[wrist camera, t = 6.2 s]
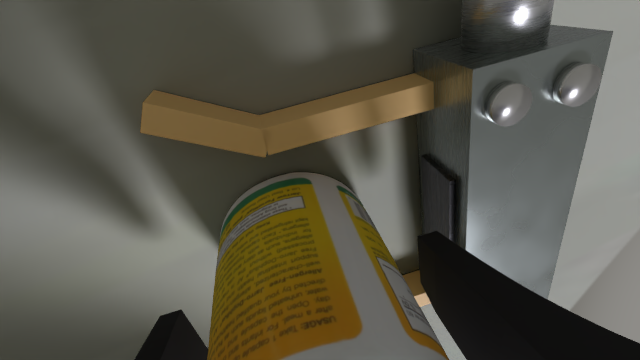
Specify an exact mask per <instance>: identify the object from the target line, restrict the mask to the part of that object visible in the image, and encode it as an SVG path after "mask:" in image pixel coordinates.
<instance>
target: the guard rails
mask: <svg viewBox="0 0 640 360" xmlns="http://www.w3.org/2000/svg"><path fill="white" fill-rule="evenodd" d="M432 109H434V84H433V82H432V81H430V80H428V79H426V78H424V77H422V76H419V75H417V74H415V73H413V74H409V75H406V76H402V77H398V78H394V79H391V80H387V81H383V82H380V83H376V84H372V85H369V86H365V87H361V88H358V89H354V90H350V91H347V92H343V93H339V94H335V95H332V96H328V97H324V98H321V99H317V100H313V101H310V102H306V103H302V104H299V105H295V106H291V107H288V108H284V109H280V110H276V111H273V112H269V113H265V114H262V115H256V114H252V113H248V112H244V111H239V110H235V109H231V108H227V107H223V106H219V105H215V104H210V103H206V102H202V101H198V100H194V99H190V98H185V97H181V96H177V95H173V94H169V93H165V92H160V91H156V90H153V92H152V93H151V94H150V95H149V96H148V97H147V98H146V99H145V101H144V102H143V106H142V118H141V129H140V133H144V134H149V135H154V136H159V137H164V138H169V139H174V140H179V141H184V142H189V143H194V144H199V145H204V146H209V147H214V148H219V149H224V150H229V151H234V152H239V153H244V154H249V155H254V156H259V157H264V158H265V157H266V153H267V151H268V154H269V155H272V154H275V153H279V152H282V151H286V150H289V149H293V148H296V147H300V146H304V145H307V144H311V143H314V142H318V141H321V140H325V139H329V138H332V137H336V136H339V135H343V134H346V133H350V132H353V131H357V130H361V129H364V128H368V127H371V126H375V125H378V124H382V123H386V122H389V121H393V120H396V119H400V118H403V117H407V116H410V115H414V114H418V113H421V112H425V111H428V110H432ZM402 276H403V278H404V280H405V281H406V283H407V285H408V287H409V288H410V290H411V292H412V294H413V296H414V298H415V299H416V301H417V303H418V305H419V307H421V306H424V305H427V304H430V303H431V302H430V300H429V298H428V296H427V294H426V292H425V290H424V288H423V286H422V284H421V282H420V270H418V271H415V272H411V273H408V274H405V275H402Z"/></svg>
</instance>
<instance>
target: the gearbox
mask: <svg viewBox="0 0 640 360" xmlns="http://www.w3.org/2000/svg"><path fill="white" fill-rule="evenodd" d="M553 4H554V0H462V32H461V37H460V38H456V39H452V40H448V41H445V42H441V43H437V44H433V45H430V46H426V47H422V48H418V49H414V50H413V57H414V73H415V74H417V75H419V76H422V77H424V78H426V79H428V80H430V81H432V82H433V84H434V109H432V110H428V111H425V112H421V113H418V114H417V133H418V152H419V171H420V190H421V209H422V228H423V235H424V234H427V233H430V232H434V231H438V232H440V233H441V234H443V235H444V236H446V237H447V238H449V239H450V240H452V241H453V242H455V243H456V244H457V245H459V246H460V247H462V248H463V249H465V250H466V251H468V252H469V253H471V254H472V255H474V256H476V257H477V258H479V259H480V260H482V261H483V262H485V263H486V264H488V265H489V266H491V267H493V268H494V269H496V270H498V271H499V272H501V273H502V274H504V275H506V276H507V277H509V278H511V279H512V280H514V281H516V282H517V283H519V284H521V285H522V286H524V287H526V288H528V289H529V290H531V291H533V292H535V293H537V294H538V295H540V296H542V297H544V298H546V299H548V295H549V291H550V287H551V283H552V279H553V275H554V271H555V267H556V263H557V258H558V254H559V250H560V246H561V242H562V238H563V234H564V230H565V226H566V222H567V218H568V214H569V209H570V205H571V201H572V197H573V193H574V189H575V185H576V181H577V177H578V173H579V169H580V164H581V160H582V156H583V152H584V148H585V144H586V140H587V136H588V132H589V128H590V124H591V120H592V115H593V111H594V107H595V103H596V99H597V95H598V91H599V87H600V83H601V79H602V75H603V70H604V66H605V62H606V58H607V54H608V50H609V46H610V42H611V38H612V34H613V31H606V30H596V29H586V28H577V27H567V26H557V25H550V24H551V17H552V10H553Z"/></svg>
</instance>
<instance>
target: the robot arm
mask: <svg viewBox="0 0 640 360" xmlns="http://www.w3.org/2000/svg"><path fill="white" fill-rule="evenodd" d="M418 252H419V267H420V282H421V284H422V286H423V288H424V290H425V292H426V294H427V296H428V298H429V300H430V302H431V304H432V306H433V308H434V310H435V312H436V313H437V315H438V317H439V318H440V320H441V321H442V323H443V324H444V326H445V327H446V329H447V330H448V332H449V333H450V335H451V336H452V338H453V339H454V341H455V343H456V344H457V346H458V347H459V349H460V350H461V352H462V353H463V355H464V356H465V358H466V359H467V360H640V344H639V343H637V342H635V341H633V340H630V339H628V338H626V337H623V336H621V335H618V334H616V333H614V332H612V331H610V330H607V329H605V328H603V327H601V326H599V325H596V324H595V323H593V322H591V321H588V320H586V319H584V318H582V317H580V316H578V315H576V314H574V313H572V312H570V311H568V310H566V309H564V308H562V307H561V306H559V305H557V304H555V303H553V302H551V301H549V300H547V299H546V298H544V297H542V296H540V295H538V294H537V293H535V292H533V291H531V290H529V289H528V288H526V287H524V286H522V285H521V284H519V283H517V282H516V281H514V280H512V279H511V278H509V277H507V276H506V275H504V274H502V273H501V272H499V271H498V270H496V269H494V268H493V267H491V266H489V265H488V264H486V263H485V262H483V261H482V260H480V259H479V258H477V257H476V256H474V255H472V254H471V253H469V252H468V251H466V250H465V249H463V248H462V247H460V246H459V245H457V244H456V243H455V242H453V241H452V240H450V239H449V238H447V237H446V236H444V235H443V234H441V233H440V232H438V231H434V232H430V233H427V234H424V235H421V236H418ZM207 357H208V349H207V347H206V346H205V344H204V343H203V341H202V340H201V338H200V337H199V335H198V334H197V332H196V331H195V329H194V328H193V326H192V325H191V323H190V322H189V320H188V319H187V317H186V316H185V314H184V313H183V311H182V310H178V311H175V312H172V313H169V314H165V315H162V316H160V317H159V319H158V321H157V322H156V324H155V326H154V327H153V329H152V331H151V332H150V334H149V336H148V337H147V339H146V341H145V343H144V344H143V346H142V348H141V349H140V351H139V353H138V355H137V356H136V358H135V360H207Z"/></svg>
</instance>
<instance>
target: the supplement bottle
mask: <svg viewBox="0 0 640 360" xmlns="http://www.w3.org/2000/svg"><path fill="white" fill-rule="evenodd" d="M207 360H449V359H448V357H447V355H446V353H445V351H444V349H443V348H442V346H441V344H440V342H439V340H438V338H437V336H436V335H435V333H434V331H433V329H432V328H431V326H430V324H429V322H428V321H427V319H426V317H425V315H424V314H423V312H422V310H421V308H420V307H419V305H418V303H417V301H416V299H415V298H414V296H413V294H412V292H411V290H410V288H409V287H408V285H407V283H406V281H405V280H404V278H403V276H402V274H401V272H400V270H399V268H398V267H397V265H396V263H395V261H394V259H393V258H392V256H391V254H390V252H389V251H388V249H387V247H386V245H385V243H384V242H383V240H382V238H381V236H380V234H379V232H378V231H377V229H376V227H375V225H374V224H373V222H372V220H371V218H370V217H369V215H368V213H367V212H366V210H365V209H364V207H363V205H362V203H361V201H360V200H359V199H358V197H357V196H356V195H355V194H354V193H353V192H352V191H351V190H350V189H349V188H348V187H347V186H346V185H344V184H342V183H341V182H339V181H337V180H335V179H333V178H331V177H328V176H325V175H321V174H317V173H308V172H295V173H289V174H284V175H280V176H277V177H274V178H271V179H268V180H266V181H264V182H261V183H259V184H257V185H255V186H254V187H252V188H251V189H249V190H248V191H246V192H245V193H244V194H243V195H241V196H240V197H239V198H238V199H237V200H236V202H235V203H234V204H233V205H232V207H231V208H230V210H229V211H228V213H227V215H226V217H225V219H224V221H223V225H222V228H221V233H220V242H219V249H218V258H217V266H216V276H215V286H214V295H213V306H212V317H211V327H210V337H209V348H208V357H207Z"/></svg>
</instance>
